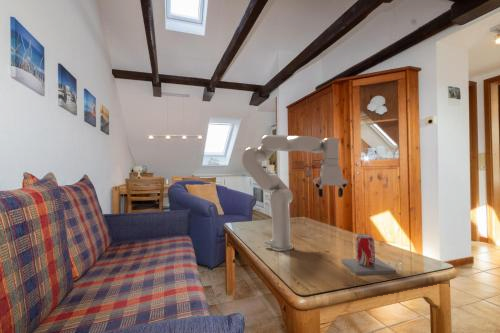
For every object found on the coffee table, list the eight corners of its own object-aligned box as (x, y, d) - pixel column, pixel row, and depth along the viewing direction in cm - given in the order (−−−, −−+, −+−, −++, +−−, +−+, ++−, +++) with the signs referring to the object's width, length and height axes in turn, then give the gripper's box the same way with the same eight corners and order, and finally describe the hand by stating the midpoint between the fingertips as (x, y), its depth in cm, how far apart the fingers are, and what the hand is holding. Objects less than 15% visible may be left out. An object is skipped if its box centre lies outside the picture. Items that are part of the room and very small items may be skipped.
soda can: (367, 268, 98) (366, 238, 98) (353, 263, 104) (352, 235, 105) (379, 265, 101) (377, 236, 102) (364, 260, 107) (363, 232, 108)
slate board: (356, 274, 95) (356, 271, 95) (341, 261, 109) (341, 259, 109) (396, 273, 96) (396, 270, 96) (376, 260, 110) (376, 257, 110)
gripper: (315, 162, 118) (315, 197, 118) (351, 162, 118) (350, 197, 118) (311, 162, 125) (311, 195, 125) (344, 162, 125) (344, 196, 125)
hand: (330, 196), depth 121 cm, fingers open, 9 cm apart
